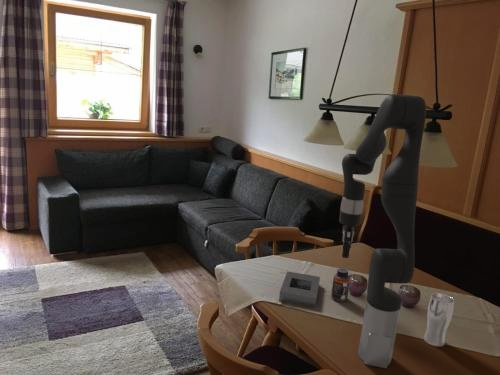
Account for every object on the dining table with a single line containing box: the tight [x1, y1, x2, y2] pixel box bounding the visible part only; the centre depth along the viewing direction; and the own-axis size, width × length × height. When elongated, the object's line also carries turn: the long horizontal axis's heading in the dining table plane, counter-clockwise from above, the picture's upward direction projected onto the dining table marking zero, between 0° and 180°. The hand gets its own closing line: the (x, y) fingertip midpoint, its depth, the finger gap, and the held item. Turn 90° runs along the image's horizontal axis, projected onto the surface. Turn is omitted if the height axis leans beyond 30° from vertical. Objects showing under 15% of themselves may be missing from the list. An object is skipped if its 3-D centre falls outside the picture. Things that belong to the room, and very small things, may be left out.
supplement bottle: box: [330, 267, 351, 303], centre depth 150 cm, size 6×6×11 cm
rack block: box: [278, 270, 321, 308], centre depth 153 cm, size 18×13×4 cm
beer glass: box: [423, 292, 455, 348], centre depth 127 cm, size 7×7×15 cm
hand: (345, 253), depth 147 cm, fingers open, 8 cm apart
